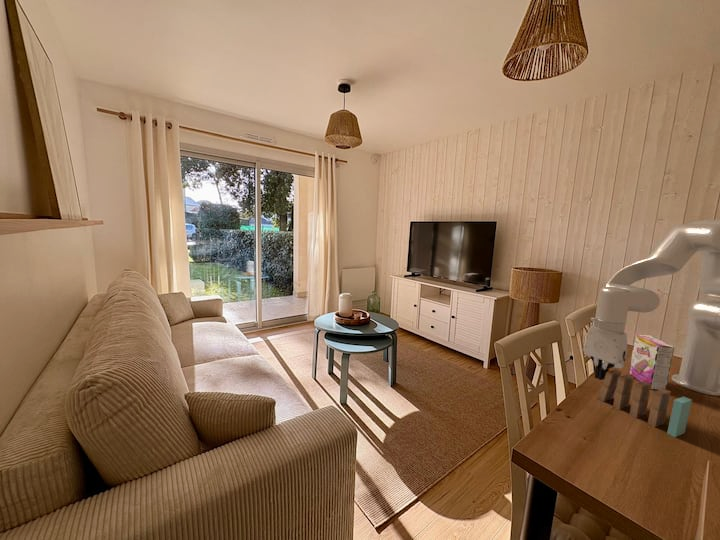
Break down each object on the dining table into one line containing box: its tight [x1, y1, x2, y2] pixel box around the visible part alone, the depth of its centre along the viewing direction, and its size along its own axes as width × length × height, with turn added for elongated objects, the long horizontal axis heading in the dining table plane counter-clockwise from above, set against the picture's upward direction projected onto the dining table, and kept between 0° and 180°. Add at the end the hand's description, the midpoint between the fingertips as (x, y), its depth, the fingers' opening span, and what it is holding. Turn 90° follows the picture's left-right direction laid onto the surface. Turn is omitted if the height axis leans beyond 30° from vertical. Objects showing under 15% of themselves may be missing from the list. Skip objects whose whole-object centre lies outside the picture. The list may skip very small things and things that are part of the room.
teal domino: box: [666, 395, 693, 438], centre depth 78 cm, size 5×2×10 cm, turn 112°
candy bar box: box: [628, 333, 675, 391], centre depth 104 cm, size 11×5×16 cm, turn 168°
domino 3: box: [629, 381, 652, 419], centre depth 86 cm, size 5×2×10 cm, turn 112°
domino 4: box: [647, 388, 672, 428], centre depth 82 cm, size 5×2×10 cm, turn 112°
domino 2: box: [612, 373, 635, 410], centre depth 89 cm, size 5×2×10 cm, turn 112°
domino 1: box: [597, 368, 622, 403], centre depth 93 cm, size 5×2×10 cm, turn 112°
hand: (600, 378), depth 95 cm, fingers closed
